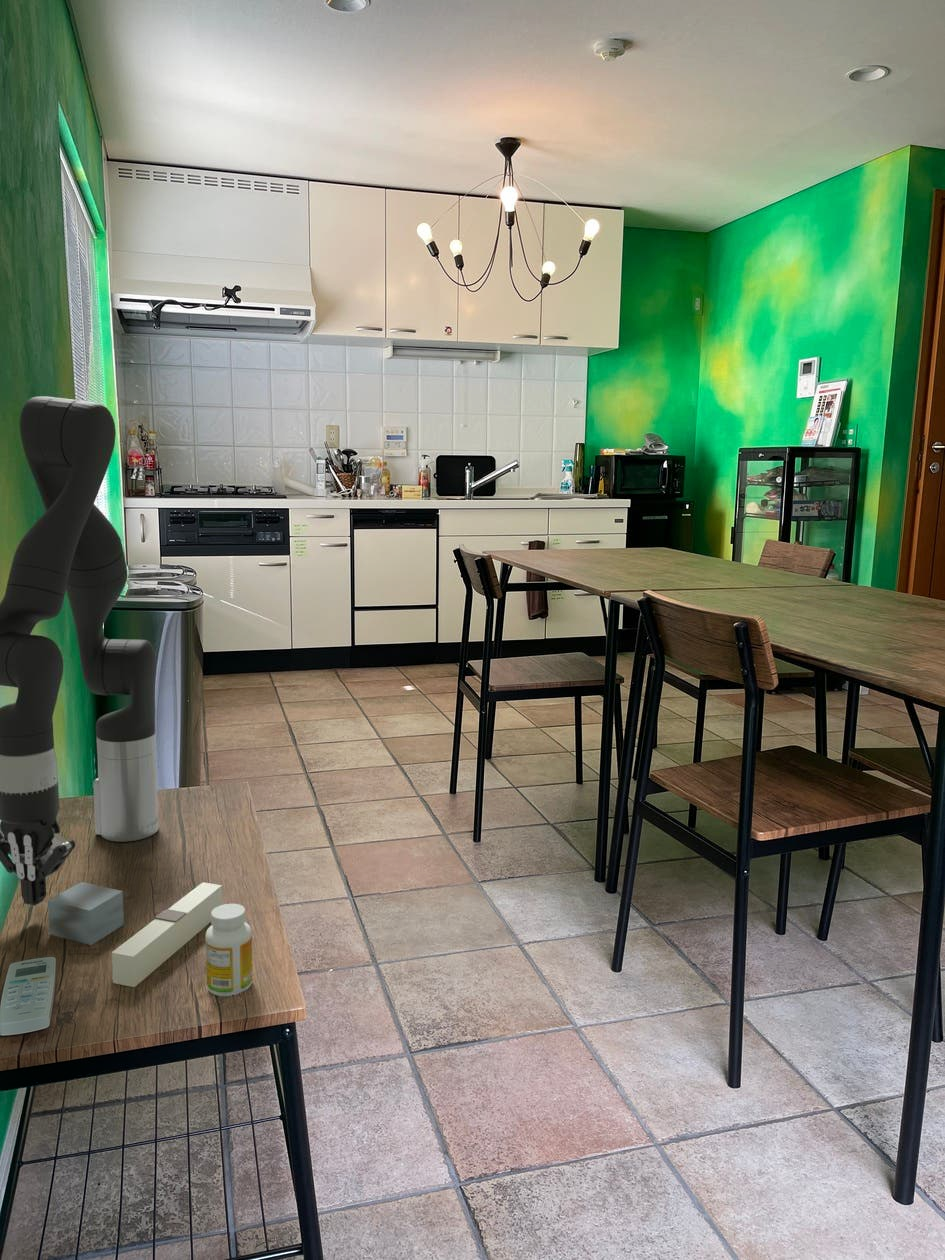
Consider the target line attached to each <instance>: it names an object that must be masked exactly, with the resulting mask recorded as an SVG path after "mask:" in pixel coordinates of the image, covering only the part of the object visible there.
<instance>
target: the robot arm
mask: <svg viewBox="0 0 945 1260" xmlns="http://www.w3.org/2000/svg"><path fill="white" fill-rule="evenodd" d="M20 411H21V412H20V415H19V434H20V436H19V437H20V441H21V445H22V449H23V452H24V455H25V459H26V462H27V464H28V467H29V469H30V472H31V474H32V477H33V480H34V482H35V485H36V489H37V490H38V492H39V495H40V498H41V500H42V504H43V506H44V510H45V512H44V513H43V514H42V515H41V516H40V517H39V519H37V520H36V522H34V524H33V525H32V526H31V527H30V528H29V529H28V530H27V531H26V533H24V536H23V537H22V539H21V540H20V541H19V543H18V545H17V547H16V549H15V552H14V555H13V558H12V562H11V566H10V571H9V574H8V579H7V582H6V583H7V584H6V587H5V592H4V596H3V598H2V600H1V601H0V686H4V687H10V688H17V697H16V701H15V702H12V703H8V704H5V705H2V706H1V707H0V863H1V864H2V867H4V869H5V870H6V872H7V873H9V874H12V873H15V874H16V875H17V878H18V879H20V891H21V898H22V899H23V903H24V904H25V905H29V906H37V905H39V904H40V903H41V902H43V901H44V899H45V898H46V897H47V883H46V880H47V879H46V878H47V877H49V876H50V875H52V874H54V873H55V872H57V871H59V869H60V868H61V866H62V865H63V863H64V862H65V861H66V860H67V858H68V857H69V856H70V855H71V853H72V851H73V850H74V849H75V847H76V842H75V841H74V839H68V840H66V839H65V838H64V837H63V836H62V835H61V828H60V825H59V822H58V821H57V816H58V814H59V811H60V792H59V791H60V790H59V773H58V761H57V755H56V751H55V739H54V721H53V716H54V713H55V709H56V705H57V700H58V695H59V692H60V689H61V688H60V687H61V683H62V678H63V675H64V666H65V665H64V658H63V654H62V650H61V649H60V648H59V646H58V644H57V643H56V642H55V641H54V640H53V639H51V638H49V637H47V636H45V635H38V634H37V635H36V634H31V633H32V631H33V630H34V628H35V627H36V625H37V624H38V623H39V622H41V621H44V620H45V621H46V620H50V619H53V618H56V617H57V616H58V615H59V614H60V613H61V610H62V607H63V604H64V599H65V598H64V597H65V594H67V599H68V602H69V605H70V610H71V614H72V618H73V623H74V627H75V634H76V640H77V647H78V653H79V661H80V666H81V671H82V677H83V680H84V684H85V685H86V687H87V689H88V691H89V692H91V694H93V695H101V696H130V697H131V699H130V701H131V702H130V704H128V705H127V706H124V707H123V708H121V709H118V710H115V711H111V712H109V713H106V714H104V715H102V716H100V717H99V718H98V719H97V721H96V723H95V732H96V733H95V736H96V754H97V756H96V757H97V776H98V777H97V778H95V779H94V780H93V783H92V784H93V786H92V787H93V807H94V825H95V826H94V828H95V835H99V836H101V837H102V838H103V839H105V840H107V841H111V842H118V843H119V842H121V843H123V842H133V841H134V842H135V841H140V840H143V839H144V840H145V839H146V838H150V837H151V836H153V835H155V834H157V832H158V830H159V805H158V803H159V801H158V800H159V799H158V771H157V745H156V741H157V740H156V673H157V667H156V666H157V665H156V662H157V661H156V653H155V648H154V647H153V644H152V643H151V642H150V640H147V639H135V638H134V639H133V638H132V639H130V638H129V639H128V638H127V639H126V638H124V639H122V638H118V639H117V638H110V639H109V638H106V637H105V635H104V631H103V627H104V624H105V621H106V620H107V617H108V615H109V613H110V611H111V610H112V609H113V607H114V605H115V604H116V602H117V601H118V599H119V598H120V596H121V595H122V592H123V591H124V589H125V587H126V583H127V579H128V568H127V564H126V557H125V552H124V546H123V543H122V540H121V537H120V535H119V534H118V531H117V530H116V528H115V527H114V525H113V524H112V523H111V521H110V520H109V519H108V518H107V517H106V515H104V513H103V512H102V511H101V510H100V509H99V508H98V507H97V505H96V504H95V502H96V499H97V496H98V494H99V492H100V489H101V486H102V483H103V481H104V478H105V476H106V473H107V471H108V469H109V465H110V462H111V460H112V456H113V453H114V449H115V446H116V445H115V443H116V433H117V432H116V423H115V419H114V417H113V415H112V413H111V411H110V410H109V408H108V407H106V406H105V405H104V404H101V403H99V402H93V401H87V400H80V399H72V398H64V397H55V396H44V395H43V396H38V395H37V396H33V397H31V398H29V399H28V400H27V401H25V403H23V406H22V409H21V410H20ZM9 855H10V856H11V858H10V856H9Z"/></svg>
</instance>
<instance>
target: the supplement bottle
mask: <svg viewBox="0 0 945 1260" xmlns="http://www.w3.org/2000/svg"><path fill="white" fill-rule="evenodd" d="M246 917H247V915H246V908H245V907H244V906H243V905H242V904H239V903H225V904H222V905H220V906H218V907H216V908H214V909H213V910H212V912H211V922H210V923H211V925H210V926H209V927H208V928H207V930H206V932H205V964H206V965H205V967H206V972H205V973H206V988H207V990H208V991H209V993H211V994H212V995H215V996H218V997H232V995H234V996H236V995H235V994H237V995H239V993H240V994H242V993H244V992H246V991H247V990H248V989H249V988H250V987H251V986H252V984H253V938H252V937H253V935H252V928H251V926H250V925H249V923H248V922H246ZM245 990H246V991H245ZM243 991H244V992H243ZM241 992H242V993H241Z"/></svg>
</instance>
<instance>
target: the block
mask: <svg viewBox="0 0 945 1260" xmlns="http://www.w3.org/2000/svg"><path fill="white" fill-rule="evenodd" d="M123 893H124V892H123V890H118V889H115V888H110V887H106V886H101V885H99V884H98V885H97V884H93V883H89V882H84V881H81V882H79V883H77V884H75V885H74V886H71V887H70V888H67V889H66V890H64V891H62V892H60V893H59V894H57V895H55V896H54V897H51V898H49V899H48V900H47V910H48V925H49V927H48V928H49V935H51V936H55V937H59V938H62V939H67V940H71V941H74V942H77V943H82V944H86V945H90V946H93V945H94V944H96V943H97V942H99V941H101V940H102V939H103V938H106V936H109V935H110V934H111V933H113V932H115V931H116V930H118V929H119V928H121V927H122V926H124V925H125V924H124V923H125V920H124V897H123V895H124V894H123Z"/></svg>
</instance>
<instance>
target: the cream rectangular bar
mask: <svg viewBox="0 0 945 1260" xmlns="http://www.w3.org/2000/svg"><path fill="white" fill-rule="evenodd" d="M220 905H223V885H221V884H216V883H209V882H201V883H200V884H198V885H197V886H196V887H195V888H194V889H192V890H191V891H190V892H188V893H187V894H186V895H184V896H183V897H182V898H180V899H179V900H178V901H176V902H175V903H174V904H173V905H171V906H170V907H169V908H168V909H167V908H165V909H163V911H161V912H160V913H159V914H157V915H156V916H155V917H154V920H152V921H151V922H149V923H148V924H147V925H146V926H144V927H143V928H141V929H140V930H139V931H138V932H136V933H135V934H134V935H132V936H131V937H130V938H128V939H127V940H126V941H125V942H123V943H122V944H120V945H119V946H118V947H117V948H116V949H114V950H113V951H111V969H112V970H111V971H112V984H116V985H120V986H121V985H122V986H126V987H132V988H136V987H137V986H138V985H139V984H140V983H142V982H143V981H144V980H145V979H146V978H147V977H148V976H149V975H150V974H152V973H153V972H154V971H155V970H157V969H158V968H159V967H160V966H161V965H163V964H164V963H165V962H166V961H167V960H168V959H170V958H171V957H172V956H173V955H174V954H175V953H176V952H178V951H179V950H180V949H181V948H182V947H183V946H184V945H185V944H187V943H188V942H189V941H191V940H192V938H194V937H195V936H196V935H197V934H198V933H199V932H201V931H202V930H204V928H206V927H207V926H208V925H209V924H210V923H211V912H212V910H213V909H214V908H216V907H218V906H220Z"/></svg>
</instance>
